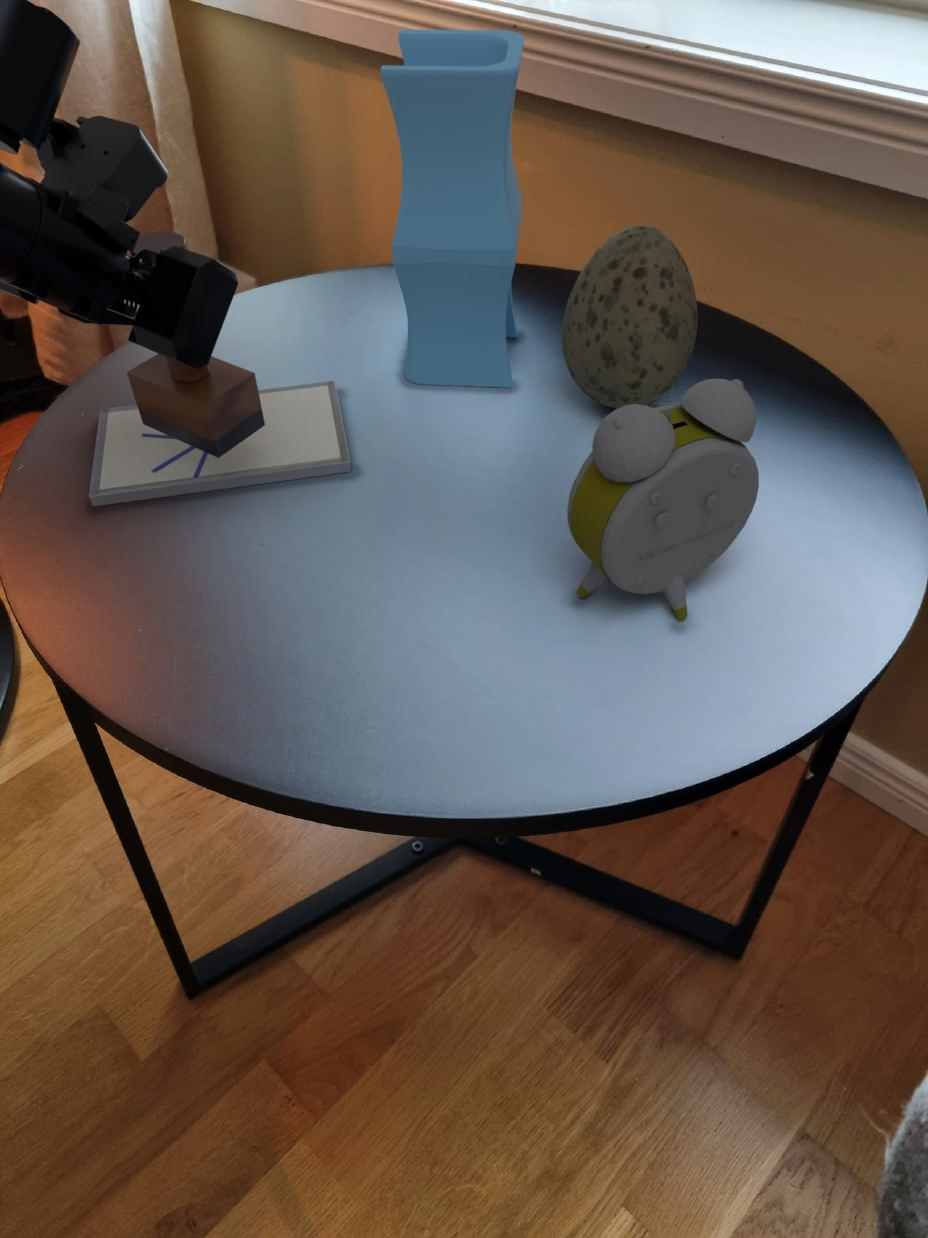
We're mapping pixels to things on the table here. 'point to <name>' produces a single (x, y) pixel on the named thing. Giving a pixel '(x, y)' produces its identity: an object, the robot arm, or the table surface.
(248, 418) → the wooden rubber stamp
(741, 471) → the alarm clock
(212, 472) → the board
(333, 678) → the table surface
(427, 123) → the vase
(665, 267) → the decorative egg
